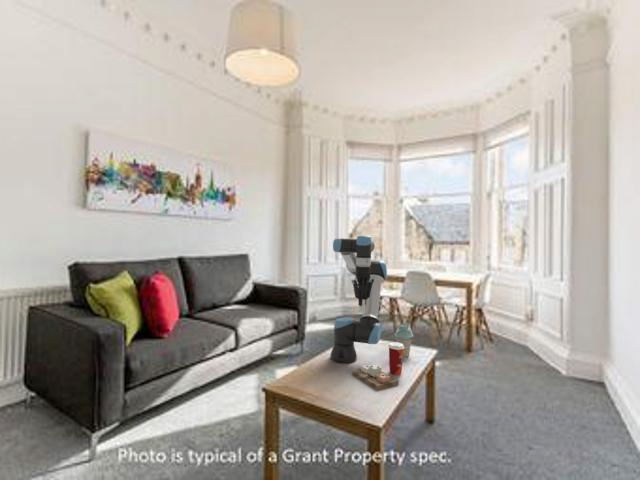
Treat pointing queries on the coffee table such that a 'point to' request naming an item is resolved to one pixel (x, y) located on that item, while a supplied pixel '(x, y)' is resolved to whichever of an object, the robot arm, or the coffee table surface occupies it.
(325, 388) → the coffee table surface
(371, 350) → the coffee table surface
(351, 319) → the robot arm
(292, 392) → the coffee table surface
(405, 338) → the ice cream cone
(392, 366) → the coffee cup
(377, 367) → the tile two
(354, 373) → the tile board
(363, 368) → the tile one
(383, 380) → the tile three
